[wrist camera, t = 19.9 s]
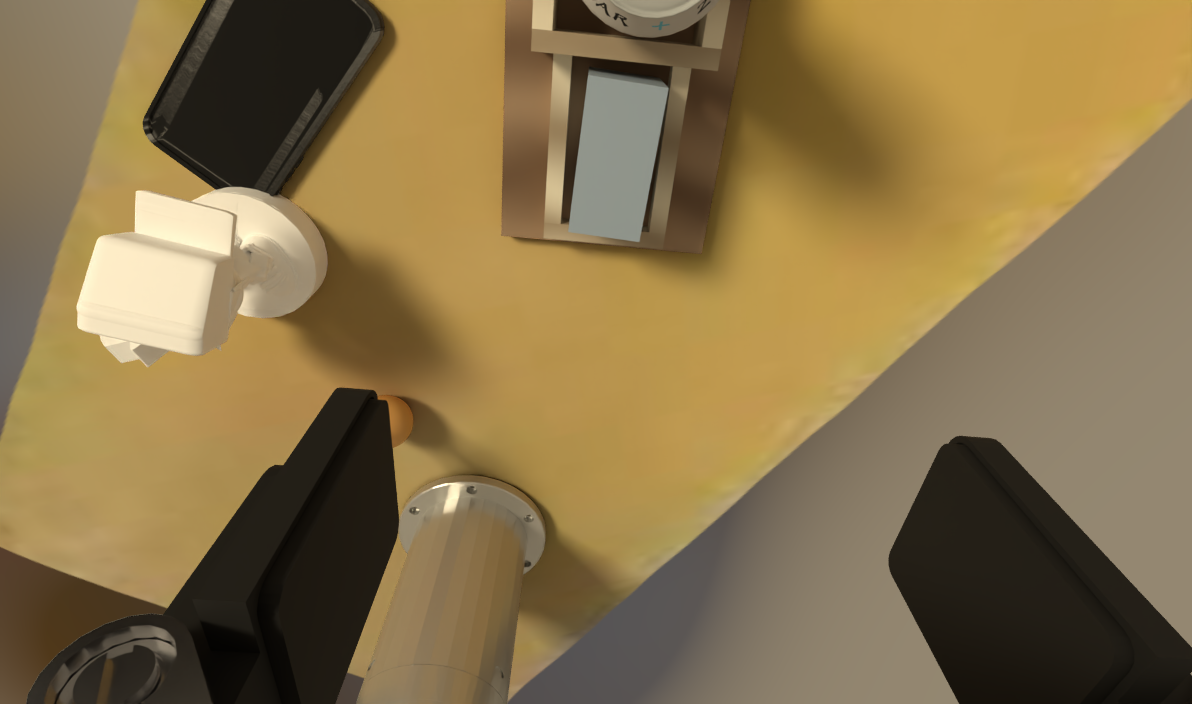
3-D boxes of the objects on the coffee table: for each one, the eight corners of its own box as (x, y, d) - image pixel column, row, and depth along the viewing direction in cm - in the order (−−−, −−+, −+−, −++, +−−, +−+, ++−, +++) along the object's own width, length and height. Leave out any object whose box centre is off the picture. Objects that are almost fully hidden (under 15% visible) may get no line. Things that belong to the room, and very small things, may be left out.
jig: (699, 248, 40) (710, 274, 36) (503, 230, 39) (493, 255, 35) (773, -143, 30) (800, -166, 26) (512, -176, 29) (499, -204, 25)
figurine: (384, 451, 48) (327, 572, 38) (319, 409, 46) (239, 525, 36) (446, 388, 45) (402, 501, 35) (378, 340, 43) (310, 445, 33)
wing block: (634, 215, 38) (639, 242, 34) (571, 206, 38) (568, 232, 33) (659, 77, 34) (668, 87, 30) (589, 66, 34) (588, 75, 29)
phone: (135, 131, 36) (257, -98, 30) (148, 128, 37) (267, -94, 31) (258, 220, 38) (390, 24, 33) (267, 215, 39) (396, 24, 34)
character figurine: (193, 287, 41) (58, 381, 31) (186, 150, 37) (25, 206, 26) (324, 318, 43) (236, 419, 32) (332, 189, 38) (234, 257, 28)
